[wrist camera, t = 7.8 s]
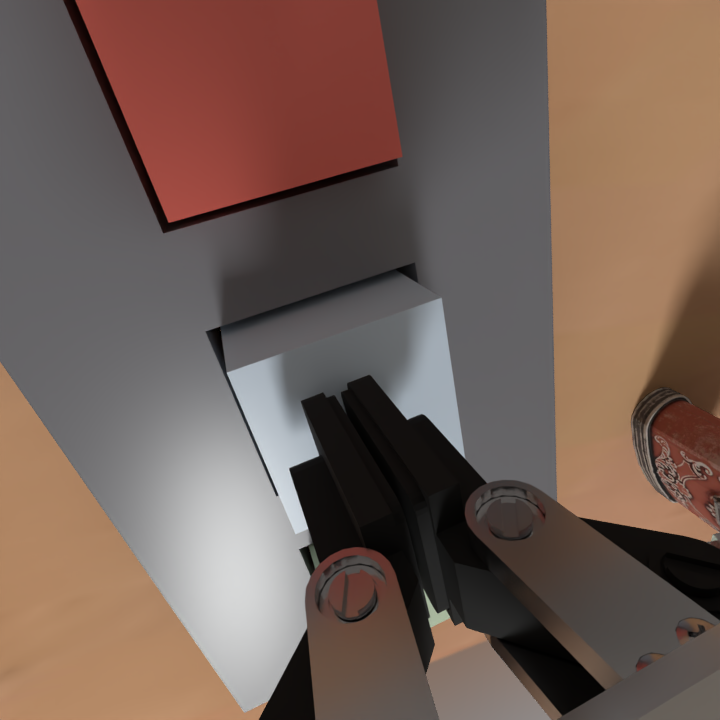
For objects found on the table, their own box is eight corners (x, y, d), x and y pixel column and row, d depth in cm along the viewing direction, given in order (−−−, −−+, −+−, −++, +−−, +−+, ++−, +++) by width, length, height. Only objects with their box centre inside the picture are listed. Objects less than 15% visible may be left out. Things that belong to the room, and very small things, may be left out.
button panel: (459, -181, 11) (540, -283, 8) (516, 511, 22) (558, 559, 20) (-207, -87, 9) (-383, -189, 6) (238, 639, 20) (244, 712, 17)
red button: (305, -81, 10) (348, -173, 7) (354, 154, 13) (402, 156, 10) (76, -41, 9) (22, -127, 7) (175, 204, 12) (168, 223, 9)
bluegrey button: (387, 264, 13) (441, 297, 10) (415, 403, 16) (465, 462, 13) (219, 319, 12) (226, 372, 9) (275, 457, 15) (295, 534, 12)
